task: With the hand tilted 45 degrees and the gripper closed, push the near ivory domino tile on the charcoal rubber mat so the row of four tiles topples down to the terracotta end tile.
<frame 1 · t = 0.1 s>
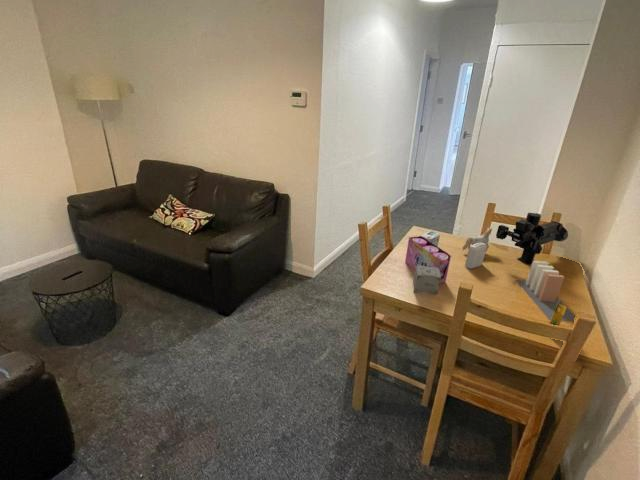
hand: (505, 240, 158), 17 cm above the table, tool horizontal, fingers open, 9 cm apart
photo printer: (473, 266, 169), on the table
domino 4: (546, 300, 142), resting on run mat
grey cardboard box: (424, 290, 147), on the table
domino 3: (541, 295, 146), resting on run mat
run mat: (544, 299, 143), on the table
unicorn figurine: (473, 250, 186), on the table
light bulb box: (426, 253, 181), on the table
domino 2: (537, 290, 150), resting on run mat
crayon box: (551, 331, 125), on the table
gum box: (424, 271, 162), on the table
domino 1: (532, 285, 153), resting on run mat
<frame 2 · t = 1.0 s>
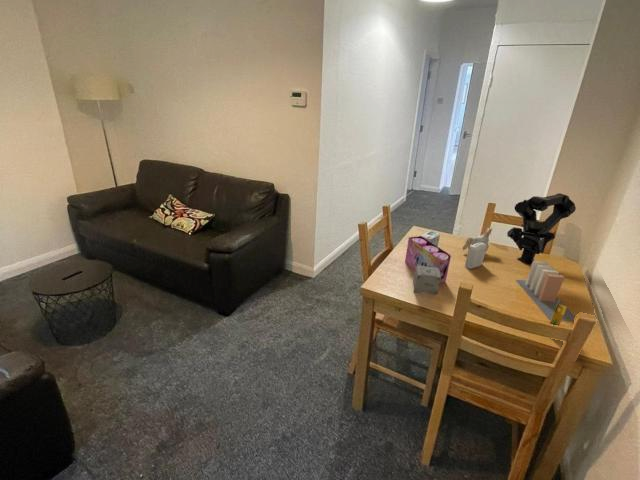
hand: (531, 251, 155), 14 cm above the table, tool tilted 45°, fingers open, 9 cm apart
nothing on the table moved.
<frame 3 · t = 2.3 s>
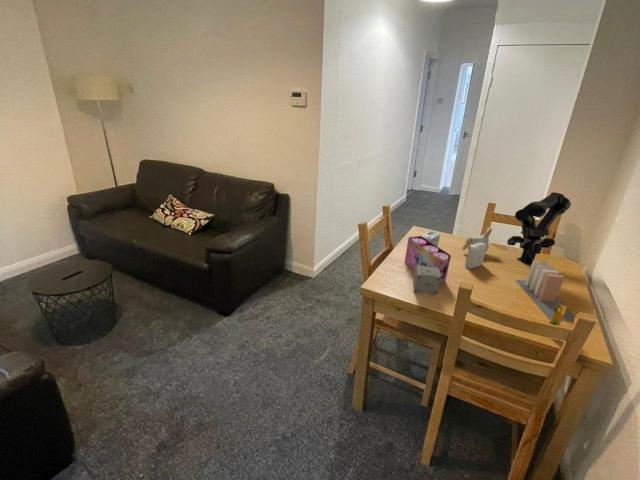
hand: (532, 259, 154), 11 cm above the table, tool tilted 45°, fingers closed
nothing on the table moved.
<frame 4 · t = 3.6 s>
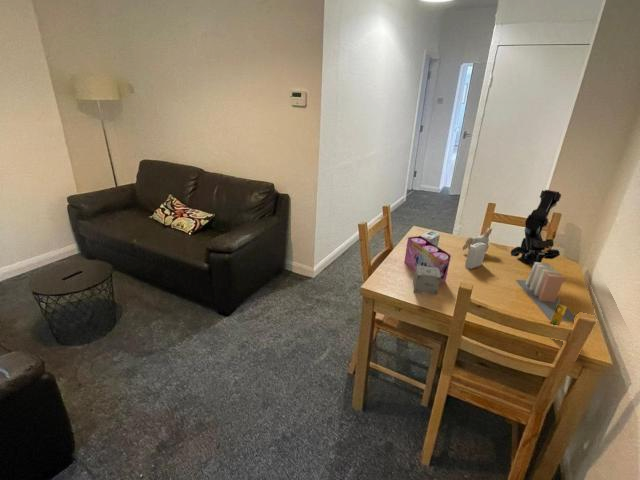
hand: (537, 270, 150), 8 cm above the table, tool tilted 45°, fingers closed
domino 1: (532, 285, 153), resting on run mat, tilted 7°
everything else where it was.
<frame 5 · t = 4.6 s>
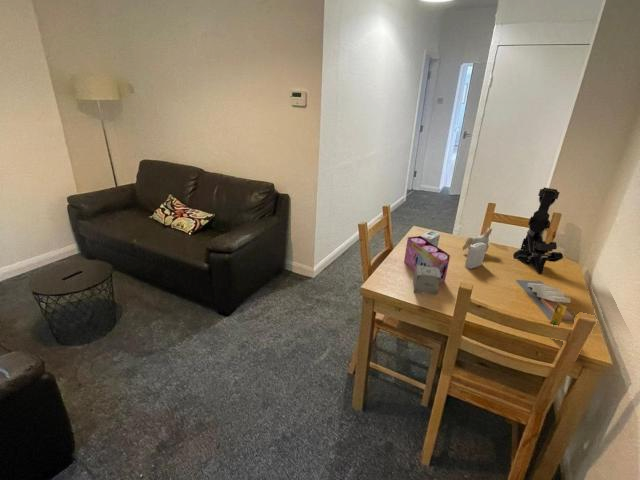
hand: (540, 274, 148), 8 cm above the table, tool tilted 45°, fingers closed
domino 4: (548, 300, 141), point 1 cm above the table, tilted 90°, touching domino 3, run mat
domino 3: (544, 295, 144), point 1 cm above the table, tilted 65°, touching domino 2, domino 4
domino 2: (539, 290, 148), point 1 cm above the table, tilted 65°, touching domino 1, domino 3
domino 1: (534, 285, 152), point 1 cm above the table, tilted 66°, touching domino 2, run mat
everything else where it was.
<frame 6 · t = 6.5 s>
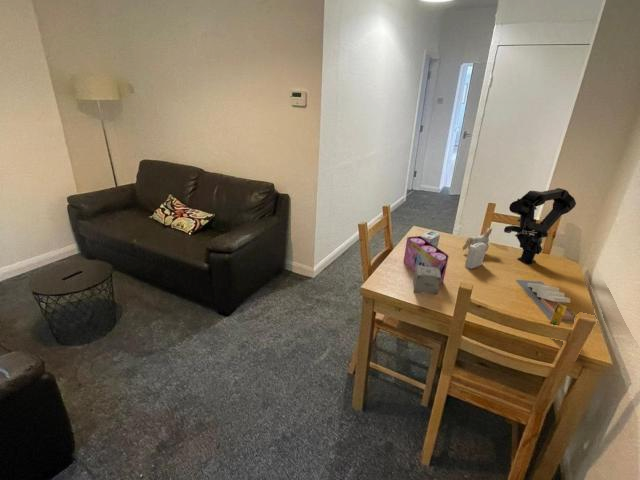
hand: (524, 249, 159), 13 cm above the table, tool tilted 30°, fingers closed
nothing on the table moved.
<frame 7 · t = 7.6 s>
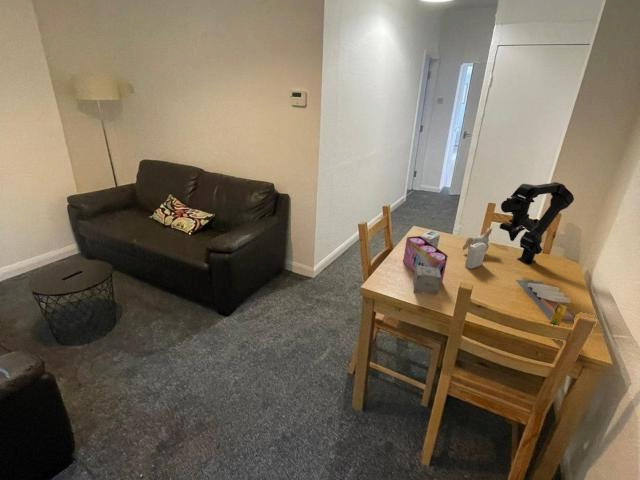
hand: (511, 240, 167), 13 cm above the table, tool pointing down, fingers closed
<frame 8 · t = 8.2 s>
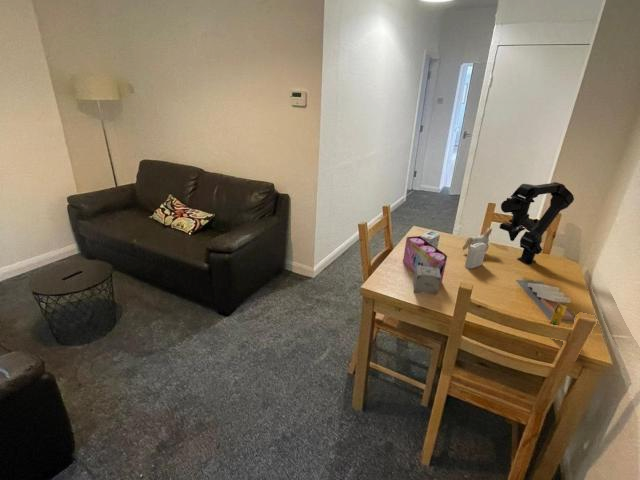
hand: (511, 240, 167), 13 cm above the table, tool pointing down, fingers closed
at the end: domino 4 tilted 90°; domino 1 tilted 66° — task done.
